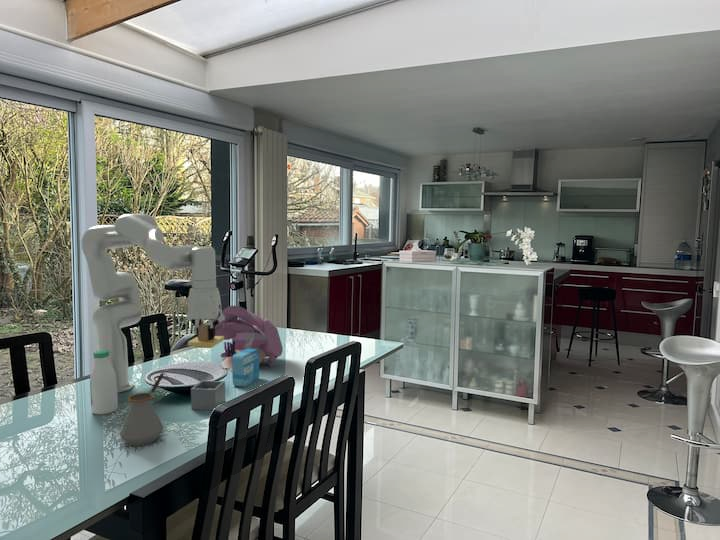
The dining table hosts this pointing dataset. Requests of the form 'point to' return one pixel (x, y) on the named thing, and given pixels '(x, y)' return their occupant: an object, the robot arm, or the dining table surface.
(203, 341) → the lid
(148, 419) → the coffee pot
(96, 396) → the milk bottle
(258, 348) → the pink curved piece
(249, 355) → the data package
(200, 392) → the box
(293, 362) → the dining table surface
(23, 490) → the dining table surface
